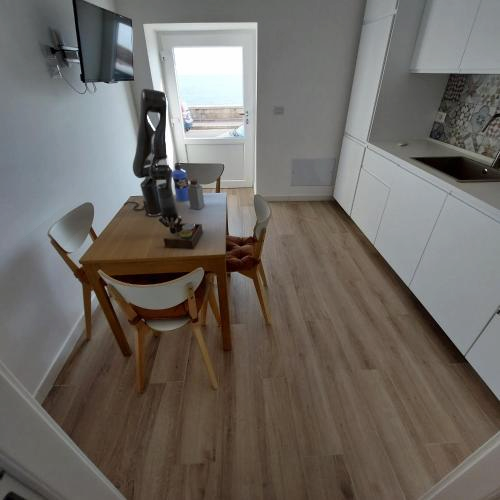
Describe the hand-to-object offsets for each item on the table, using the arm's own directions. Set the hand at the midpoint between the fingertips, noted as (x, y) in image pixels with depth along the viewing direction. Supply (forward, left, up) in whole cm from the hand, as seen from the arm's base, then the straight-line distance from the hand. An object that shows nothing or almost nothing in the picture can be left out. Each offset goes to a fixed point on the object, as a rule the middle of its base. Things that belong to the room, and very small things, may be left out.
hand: (173, 233), depth 149 cm
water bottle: (-12, +49, -2) cm, 50 cm away
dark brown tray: (+7, -4, -1) cm, 8 cm away
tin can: (+9, 0, -1) cm, 9 cm away
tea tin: (+10, -8, -1) cm, 13 cm away
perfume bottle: (+2, +37, -2) cm, 37 cm away
